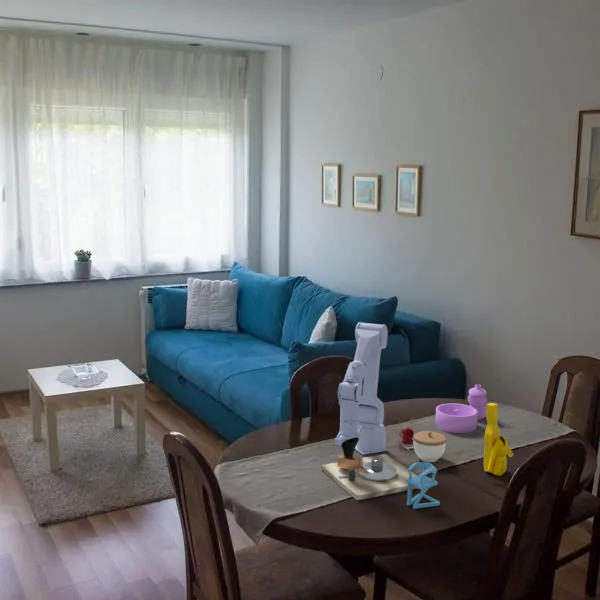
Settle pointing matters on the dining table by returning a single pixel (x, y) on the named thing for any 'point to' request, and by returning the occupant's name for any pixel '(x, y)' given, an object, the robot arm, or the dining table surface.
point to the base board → (369, 488)
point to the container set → (462, 413)
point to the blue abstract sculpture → (421, 485)
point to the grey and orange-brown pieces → (368, 468)
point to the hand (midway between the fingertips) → (348, 459)
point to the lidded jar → (429, 445)
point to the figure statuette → (495, 444)
